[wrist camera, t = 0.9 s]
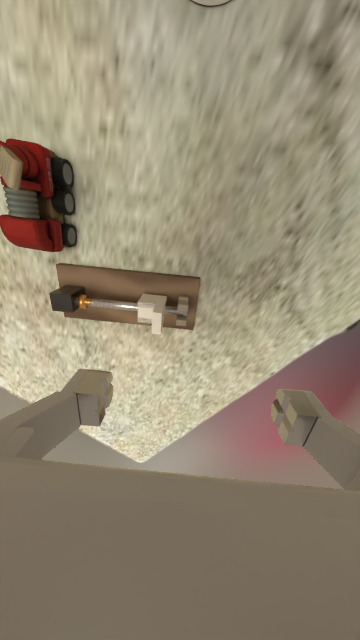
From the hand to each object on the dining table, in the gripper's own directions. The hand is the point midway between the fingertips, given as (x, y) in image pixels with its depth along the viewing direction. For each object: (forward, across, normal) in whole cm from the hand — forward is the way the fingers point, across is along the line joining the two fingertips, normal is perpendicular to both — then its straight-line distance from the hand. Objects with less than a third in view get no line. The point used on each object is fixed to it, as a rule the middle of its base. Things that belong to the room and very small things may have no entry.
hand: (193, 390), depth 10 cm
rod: (+34, +13, +7) cm, 38 cm away
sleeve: (+33, +7, +7) cm, 34 cm away
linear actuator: (+36, +13, +7) cm, 39 cm away
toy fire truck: (+36, +26, -10) cm, 45 cm away
